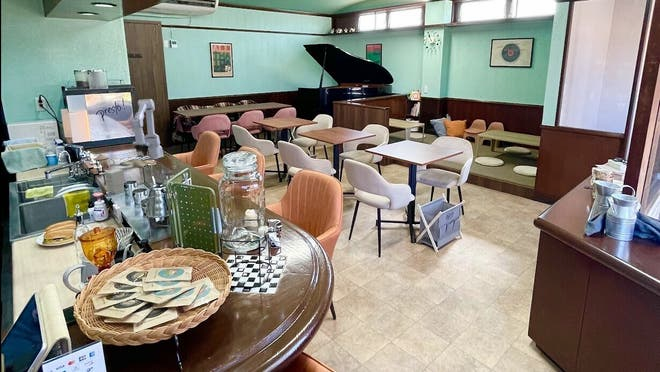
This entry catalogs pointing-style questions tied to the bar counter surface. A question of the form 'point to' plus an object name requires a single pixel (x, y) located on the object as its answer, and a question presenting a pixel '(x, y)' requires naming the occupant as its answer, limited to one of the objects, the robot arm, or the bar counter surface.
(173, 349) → the bar counter surface
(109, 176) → the supplement box
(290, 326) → the bar counter surface
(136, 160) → the stand
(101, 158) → the teacup with lid
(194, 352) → the bar counter surface
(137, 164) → the stand
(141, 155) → the block
